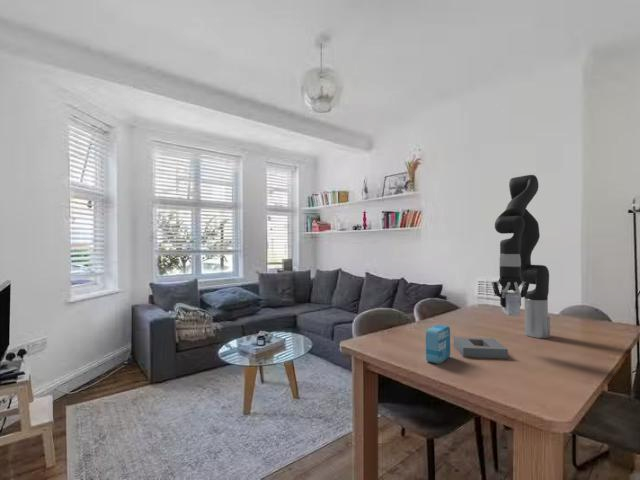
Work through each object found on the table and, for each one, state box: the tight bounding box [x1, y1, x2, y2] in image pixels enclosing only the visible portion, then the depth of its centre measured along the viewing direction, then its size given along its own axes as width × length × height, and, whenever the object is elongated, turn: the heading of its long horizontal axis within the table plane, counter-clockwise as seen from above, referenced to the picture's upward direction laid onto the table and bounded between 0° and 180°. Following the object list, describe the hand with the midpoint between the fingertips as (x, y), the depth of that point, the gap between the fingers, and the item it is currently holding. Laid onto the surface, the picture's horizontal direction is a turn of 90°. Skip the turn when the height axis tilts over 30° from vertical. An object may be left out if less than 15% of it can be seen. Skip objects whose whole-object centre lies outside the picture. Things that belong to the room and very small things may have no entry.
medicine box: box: [501, 291, 521, 317], centre depth 135 cm, size 8×4×9 cm, turn 169°
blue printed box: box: [425, 324, 451, 365], centre depth 126 cm, size 12×4×12 cm, turn 138°
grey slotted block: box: [453, 336, 509, 360], centre depth 135 cm, size 16×15×4 cm
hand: (510, 307), depth 135 cm, fingers closed on medicine box, 4 cm apart
